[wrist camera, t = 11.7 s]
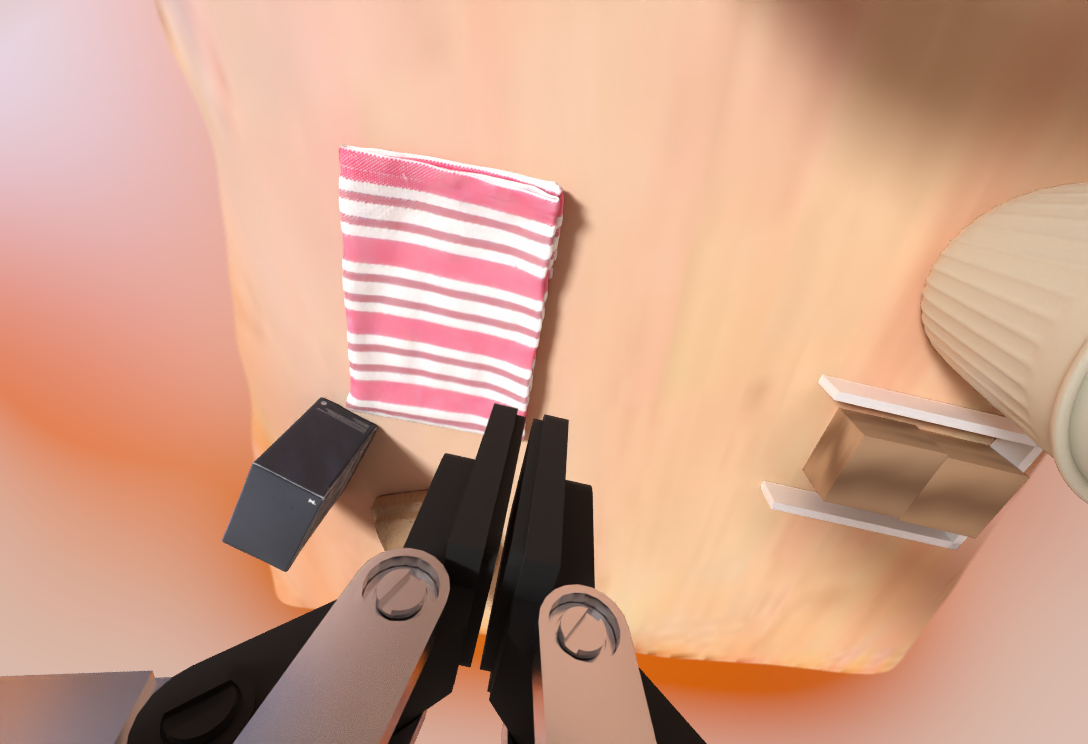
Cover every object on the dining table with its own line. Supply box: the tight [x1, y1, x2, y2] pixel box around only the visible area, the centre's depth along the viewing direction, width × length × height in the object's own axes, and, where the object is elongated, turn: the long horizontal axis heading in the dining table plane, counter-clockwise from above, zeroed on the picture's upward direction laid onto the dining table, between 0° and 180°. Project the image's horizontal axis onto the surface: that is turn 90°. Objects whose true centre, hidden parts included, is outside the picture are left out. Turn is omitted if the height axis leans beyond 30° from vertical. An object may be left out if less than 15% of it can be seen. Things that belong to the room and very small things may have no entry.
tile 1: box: [803, 408, 948, 518], centre depth 42 cm, size 7×7×4 cm
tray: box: [760, 374, 1043, 550], centre depth 42 cm, size 13×18×3 cm
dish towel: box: [339, 145, 564, 441], centre depth 39 cm, size 17×23×4 cm
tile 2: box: [896, 429, 1029, 538], centre depth 42 cm, size 7×7×4 cm
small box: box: [222, 397, 378, 572], centre depth 43 cm, size 11×6×10 cm, turn 148°
